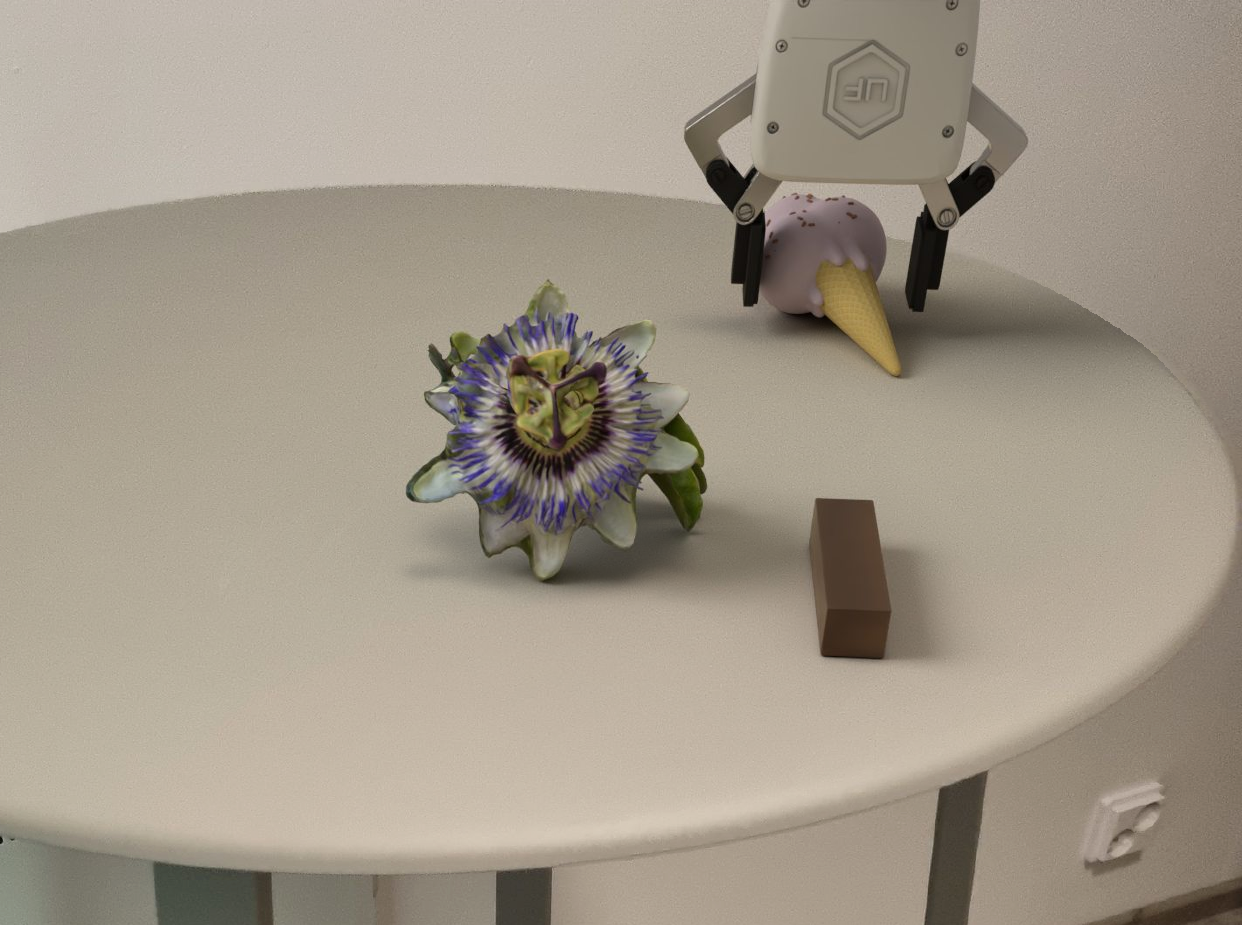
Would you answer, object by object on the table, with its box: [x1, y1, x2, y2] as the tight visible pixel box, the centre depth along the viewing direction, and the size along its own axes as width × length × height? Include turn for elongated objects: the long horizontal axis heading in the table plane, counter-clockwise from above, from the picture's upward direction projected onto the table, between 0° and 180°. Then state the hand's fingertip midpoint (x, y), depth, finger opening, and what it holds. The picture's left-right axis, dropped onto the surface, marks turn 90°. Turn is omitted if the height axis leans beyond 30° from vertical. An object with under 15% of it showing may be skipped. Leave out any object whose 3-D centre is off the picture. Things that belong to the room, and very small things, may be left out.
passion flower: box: [405, 278, 708, 582], centre depth 79 cm, size 11×11×12 cm
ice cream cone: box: [759, 192, 902, 377], centre depth 98 cm, size 6×7×15 cm
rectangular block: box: [808, 497, 892, 659], centre depth 76 cm, size 2×10×2 cm, turn 173°
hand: (831, 299), depth 99 cm, fingers open, 7 cm apart
